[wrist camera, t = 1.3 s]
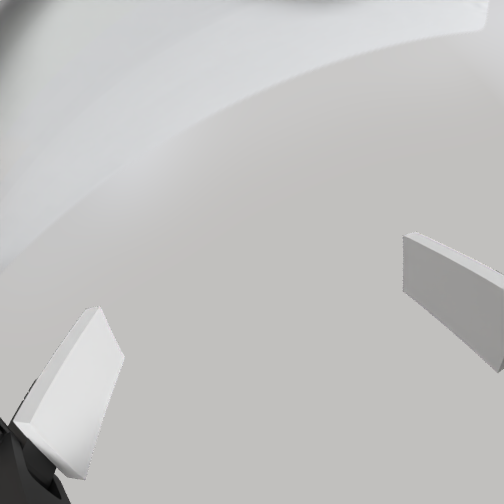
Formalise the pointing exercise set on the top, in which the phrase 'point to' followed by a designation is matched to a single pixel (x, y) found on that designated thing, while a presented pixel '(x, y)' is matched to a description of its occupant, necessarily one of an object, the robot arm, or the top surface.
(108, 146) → the top surface
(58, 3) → the top surface
